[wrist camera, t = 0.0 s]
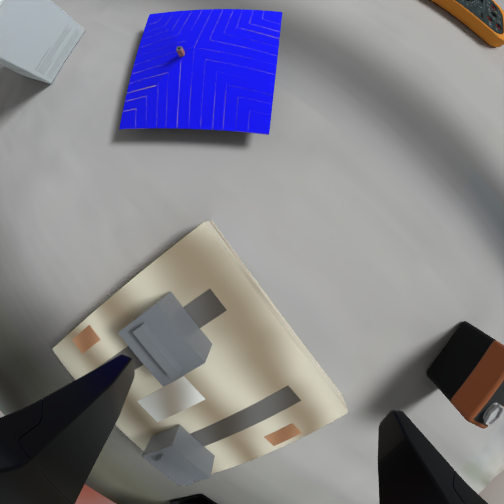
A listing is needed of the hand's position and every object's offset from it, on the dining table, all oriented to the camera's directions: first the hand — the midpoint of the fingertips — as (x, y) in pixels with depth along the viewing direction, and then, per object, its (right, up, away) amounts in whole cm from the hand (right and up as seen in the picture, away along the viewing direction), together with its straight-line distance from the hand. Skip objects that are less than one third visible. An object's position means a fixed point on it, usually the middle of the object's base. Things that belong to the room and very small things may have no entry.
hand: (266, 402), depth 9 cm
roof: (-4, +20, +14) cm, 25 cm away
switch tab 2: (-7, -14, +15) cm, 21 cm away
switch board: (-6, -7, +17) cm, 19 cm away
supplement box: (-23, +28, +13) cm, 38 cm away
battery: (+21, -6, +16) cm, 27 cm away
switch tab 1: (-7, -1, +13) cm, 14 cm away
